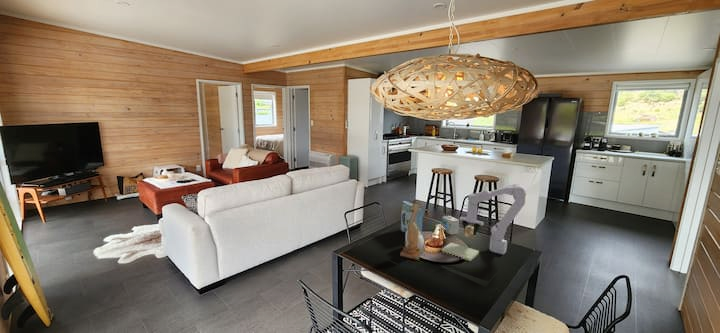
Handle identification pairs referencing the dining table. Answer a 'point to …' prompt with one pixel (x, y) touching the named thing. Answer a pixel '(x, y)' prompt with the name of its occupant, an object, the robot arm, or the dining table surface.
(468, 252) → the green tile
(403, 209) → the gum box
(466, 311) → the dining table surface
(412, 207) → the bird sculpture
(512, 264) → the dining table surface
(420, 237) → the figurine
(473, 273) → the dining table surface
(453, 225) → the light bulb box
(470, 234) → the maple block
